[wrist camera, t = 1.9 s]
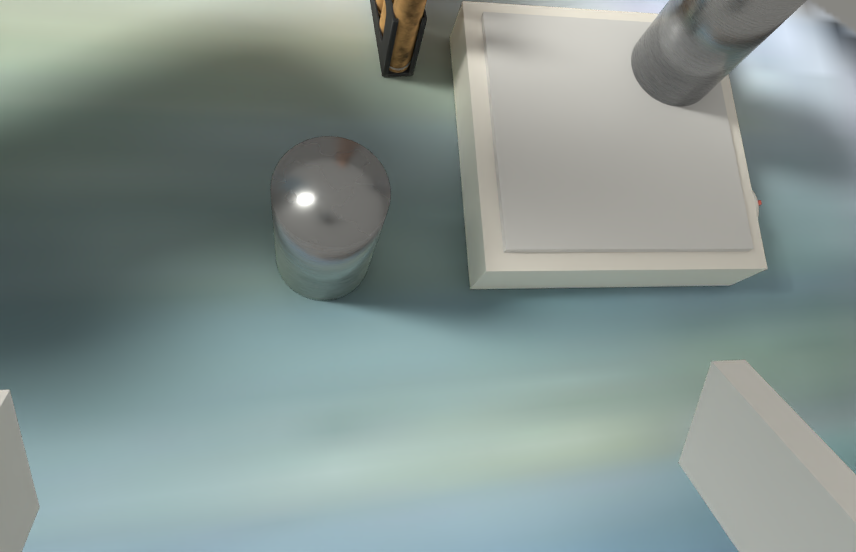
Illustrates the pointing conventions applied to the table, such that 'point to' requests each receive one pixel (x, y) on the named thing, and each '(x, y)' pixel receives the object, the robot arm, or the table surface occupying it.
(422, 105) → the table surface
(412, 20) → the ammunition clip
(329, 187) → the ball
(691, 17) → the cylinder
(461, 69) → the scale
